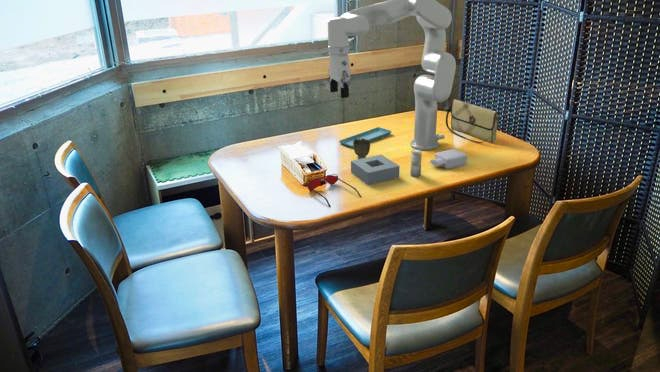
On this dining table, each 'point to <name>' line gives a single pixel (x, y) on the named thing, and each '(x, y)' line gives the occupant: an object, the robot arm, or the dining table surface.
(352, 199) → the dining table surface
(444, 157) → the charger
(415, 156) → the peg
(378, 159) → the socket block
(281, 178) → the dining table surface
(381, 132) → the shallow long dish
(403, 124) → the dining table surface
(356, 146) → the cup
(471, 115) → the clutch purse
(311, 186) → the glasses
